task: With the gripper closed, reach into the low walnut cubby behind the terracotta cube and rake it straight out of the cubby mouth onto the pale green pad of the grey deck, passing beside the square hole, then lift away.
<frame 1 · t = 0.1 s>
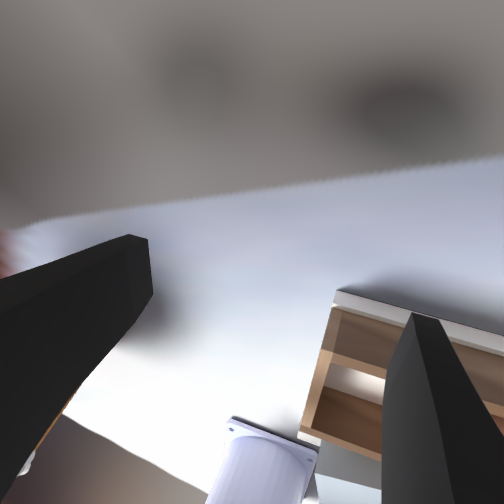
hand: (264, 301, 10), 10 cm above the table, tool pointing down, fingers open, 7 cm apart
deck: (473, 419, 23), on the table
white block: (356, 439, 26), point 1 cm above the table, touching deck
walnut cubby: (413, 381, 21), resting on deck
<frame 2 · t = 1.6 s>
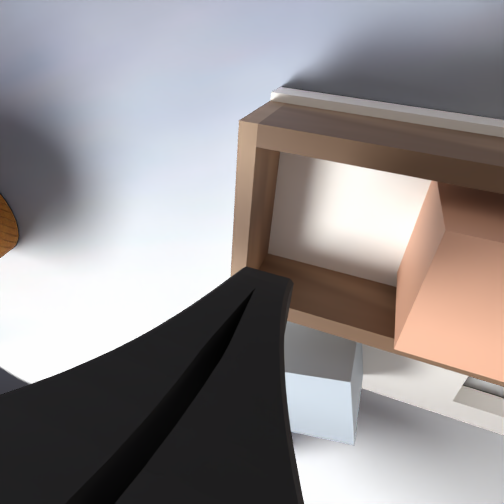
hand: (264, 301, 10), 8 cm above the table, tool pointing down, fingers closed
terracotta cube: (477, 240, 14), point 1 cm above the table, touching deck
deck: (481, 293, 16), on the table
white block: (321, 341, 19), point 1 cm above the table, touching deck
walnut cubby: (394, 221, 14), resting on deck
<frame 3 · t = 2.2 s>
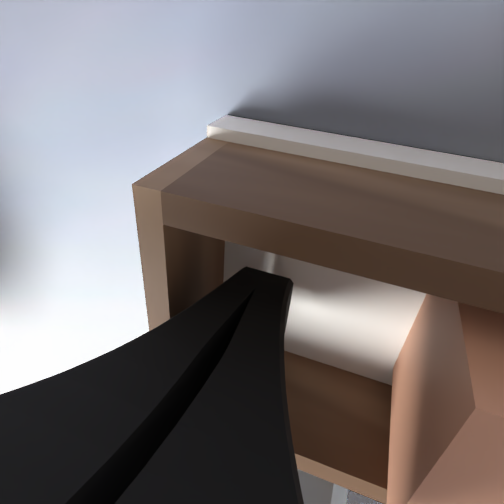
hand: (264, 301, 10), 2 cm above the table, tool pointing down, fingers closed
white block: (296, 434, 15), point 1 cm above the table, touching deck
walnut cubby: (388, 306, 10), resting on deck
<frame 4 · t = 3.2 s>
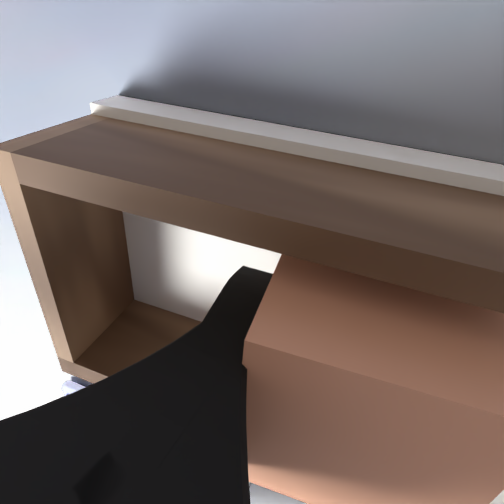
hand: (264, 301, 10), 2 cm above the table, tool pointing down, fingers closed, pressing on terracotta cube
terracotta cube: (365, 302, 10), point 1 cm above the table, touching deck, gripper
deck: (390, 356, 13), on the table
walnut cubby: (264, 271, 11), resting on deck
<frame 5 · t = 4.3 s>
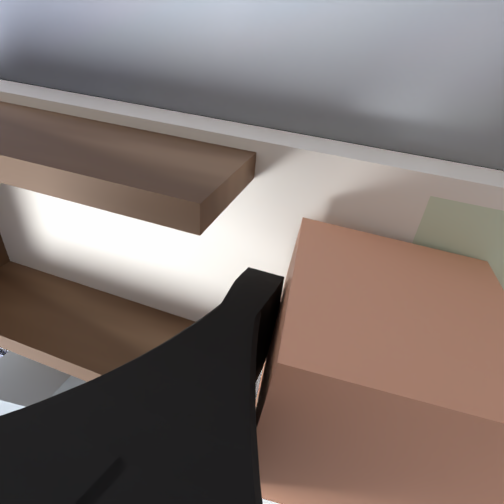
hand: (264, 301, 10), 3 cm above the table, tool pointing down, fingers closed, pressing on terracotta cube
terracotta cube: (362, 305, 10), point 2 cm above the table, tilted 8°, touching deck, gripper
deck: (227, 306, 14), on the table
white block: (94, 357, 17), point 1 cm above the table, touching deck
walnut cubby: (96, 227, 13), resting on deck
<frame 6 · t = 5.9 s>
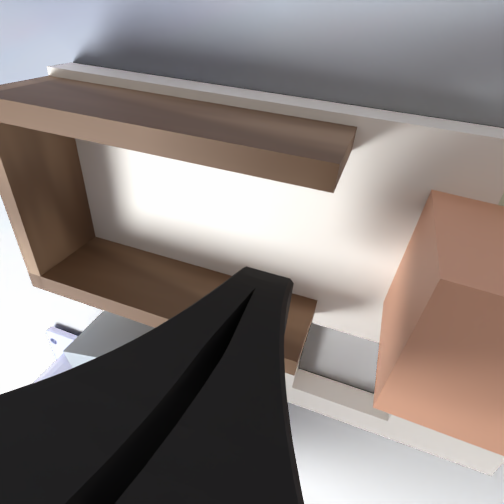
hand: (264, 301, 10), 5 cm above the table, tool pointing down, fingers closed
terracotta cube: (478, 271, 12), point 1 cm above the table, touching deck
deck: (300, 276, 16), on the table
white block: (166, 327, 19), point 1 cm above the table, touching deck
walnut cubby: (189, 201, 14), resting on deck
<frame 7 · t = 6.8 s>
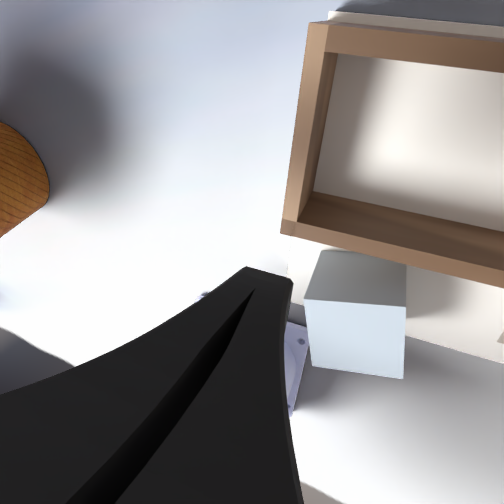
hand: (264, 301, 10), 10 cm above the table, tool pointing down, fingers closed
white block: (363, 285, 19), point 1 cm above the table, touching deck
disposable coffee cup: (13, 166, 25), on the table
walnut cubby: (449, 146, 14), resting on deck
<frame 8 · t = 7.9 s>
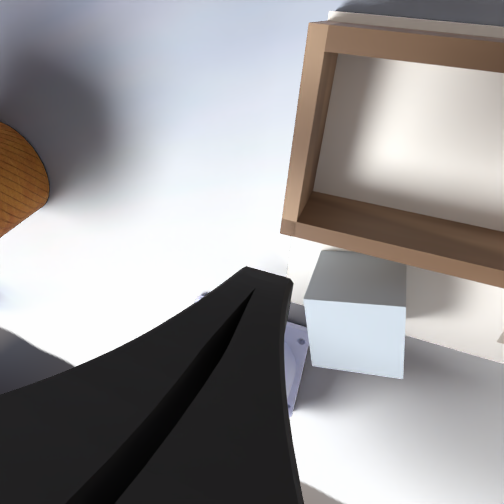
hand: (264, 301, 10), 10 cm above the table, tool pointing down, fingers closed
white block: (363, 285, 19), point 1 cm above the table, touching deck
disposable coffee cup: (13, 166, 25), on the table
walnut cubby: (449, 146, 14), resting on deck
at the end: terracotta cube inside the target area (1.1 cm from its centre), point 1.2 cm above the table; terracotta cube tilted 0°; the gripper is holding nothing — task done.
